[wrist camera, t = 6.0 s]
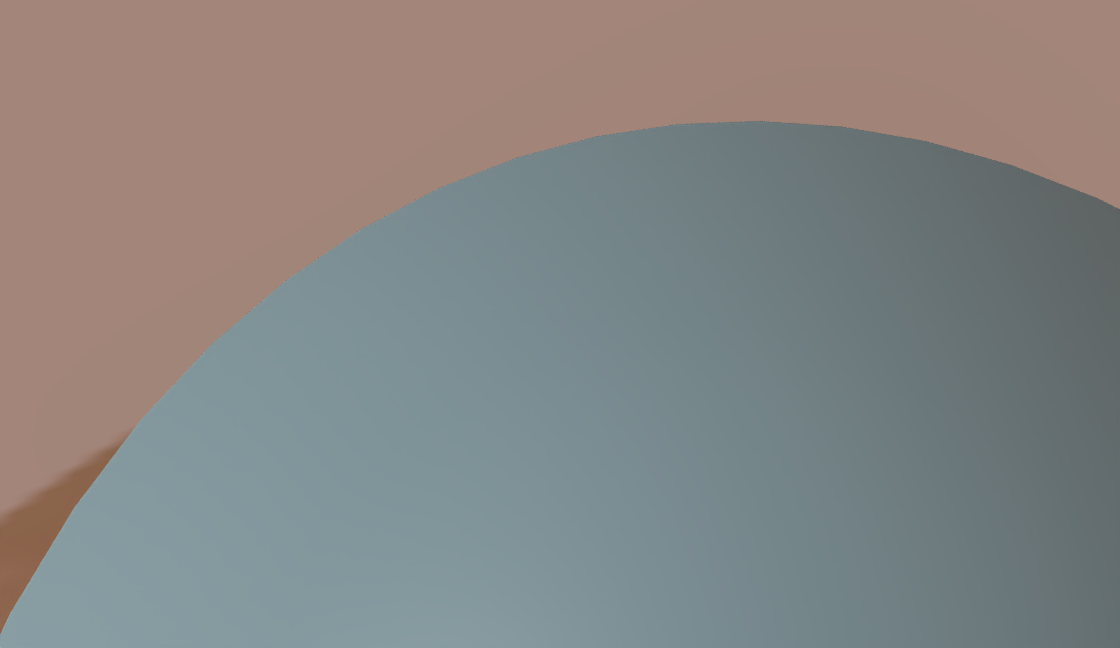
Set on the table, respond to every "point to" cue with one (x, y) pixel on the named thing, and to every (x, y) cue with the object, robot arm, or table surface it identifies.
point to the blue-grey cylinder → (641, 418)
